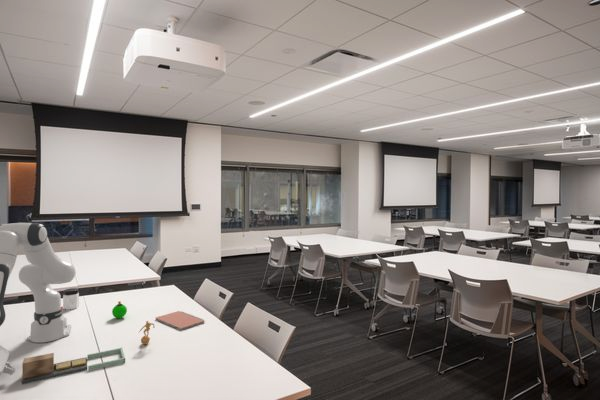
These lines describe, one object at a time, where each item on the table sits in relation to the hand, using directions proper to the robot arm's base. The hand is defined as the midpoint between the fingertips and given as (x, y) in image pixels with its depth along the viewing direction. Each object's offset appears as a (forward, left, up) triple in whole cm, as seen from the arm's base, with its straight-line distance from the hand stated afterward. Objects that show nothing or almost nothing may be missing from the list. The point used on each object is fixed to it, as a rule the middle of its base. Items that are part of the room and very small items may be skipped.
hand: (13, 371), depth 143 cm
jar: (-101, -8, -5) cm, 101 cm away
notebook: (-55, +61, -5) cm, 83 cm away
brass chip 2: (-6, +21, -3) cm, 22 cm away
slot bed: (-4, +14, -4) cm, 15 cm away
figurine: (-25, +46, -5) cm, 52 cm away
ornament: (-71, +26, -5) cm, 75 cm away
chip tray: (-8, +31, -4) cm, 33 cm away
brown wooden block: (-2, +8, -3) cm, 9 cm away
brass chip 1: (-4, +16, -3) cm, 17 cm away
